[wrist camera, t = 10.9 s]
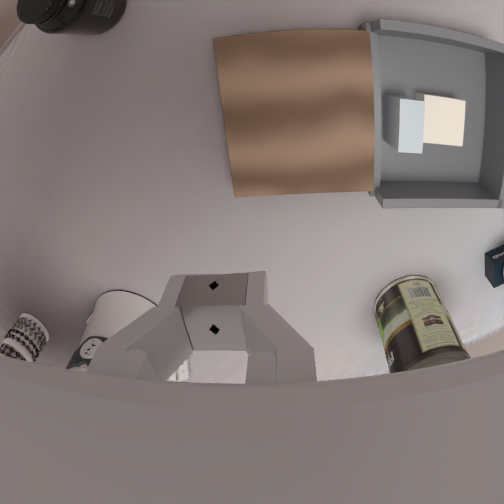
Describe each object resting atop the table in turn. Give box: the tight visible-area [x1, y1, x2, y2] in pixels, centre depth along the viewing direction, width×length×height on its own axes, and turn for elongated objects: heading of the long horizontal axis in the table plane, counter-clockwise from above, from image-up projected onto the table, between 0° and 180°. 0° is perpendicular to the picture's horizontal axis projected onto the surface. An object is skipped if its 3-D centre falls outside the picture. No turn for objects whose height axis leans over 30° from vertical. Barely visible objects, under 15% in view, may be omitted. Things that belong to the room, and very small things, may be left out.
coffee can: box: [374, 275, 471, 373], centre depth 37 cm, size 10×10×14 cm
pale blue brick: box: [383, 94, 425, 154], centre depth 26 cm, size 5×5×2 cm
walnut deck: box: [213, 29, 375, 197], centre depth 29 cm, size 16×14×4 cm
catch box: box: [359, 19, 504, 208], centre depth 26 cm, size 18×16×6 cm
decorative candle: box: [0, 313, 49, 363], centre depth 45 cm, size 9×9×25 cm
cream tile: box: [415, 92, 466, 146], centre depth 27 cm, size 5×5×2 cm
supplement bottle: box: [17, 0, 126, 35], centre depth 20 cm, size 7×7×12 cm
